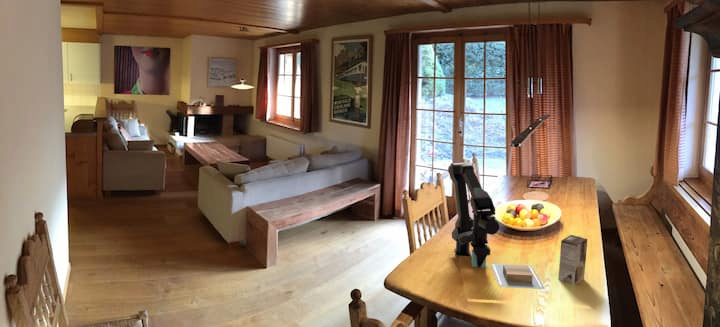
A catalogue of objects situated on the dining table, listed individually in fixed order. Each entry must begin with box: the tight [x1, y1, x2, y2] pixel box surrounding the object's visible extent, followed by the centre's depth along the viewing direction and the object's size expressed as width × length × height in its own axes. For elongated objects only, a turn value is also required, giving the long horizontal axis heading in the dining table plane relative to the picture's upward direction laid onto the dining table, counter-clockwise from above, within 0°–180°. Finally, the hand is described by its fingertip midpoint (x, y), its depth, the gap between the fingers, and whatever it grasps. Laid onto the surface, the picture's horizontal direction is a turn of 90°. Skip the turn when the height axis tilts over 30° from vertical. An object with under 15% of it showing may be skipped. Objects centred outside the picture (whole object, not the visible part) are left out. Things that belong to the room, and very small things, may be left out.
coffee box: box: [557, 234, 588, 286], centre depth 183 cm, size 9×6×16 cm
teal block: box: [470, 250, 487, 268], centre depth 197 cm, size 5×5×6 cm
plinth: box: [503, 264, 533, 283], centre depth 185 cm, size 9×9×3 cm
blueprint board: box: [490, 263, 546, 290], centre depth 187 cm, size 22×16×1 cm
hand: (478, 264), depth 197 cm, fingers closed on teal block, 5 cm apart
